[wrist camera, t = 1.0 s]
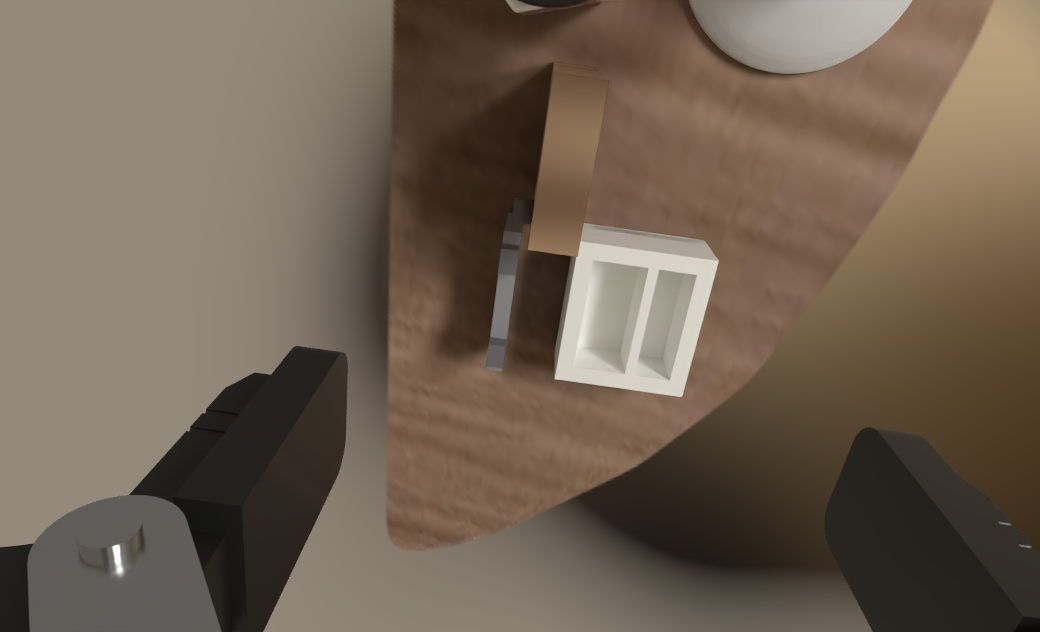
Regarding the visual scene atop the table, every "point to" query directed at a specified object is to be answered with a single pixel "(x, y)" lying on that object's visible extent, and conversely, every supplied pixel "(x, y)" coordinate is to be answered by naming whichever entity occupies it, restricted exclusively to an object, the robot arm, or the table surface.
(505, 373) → the table surface
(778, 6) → the candlestick
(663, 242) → the cabinet
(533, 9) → the jar
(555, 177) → the door
